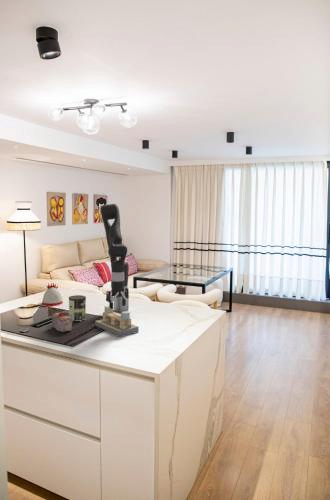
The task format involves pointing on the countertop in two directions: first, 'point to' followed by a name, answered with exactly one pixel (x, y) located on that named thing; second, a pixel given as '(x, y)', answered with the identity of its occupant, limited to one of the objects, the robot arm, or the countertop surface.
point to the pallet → (116, 320)
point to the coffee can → (77, 307)
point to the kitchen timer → (52, 296)
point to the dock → (116, 328)
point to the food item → (61, 322)
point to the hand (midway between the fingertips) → (117, 307)
